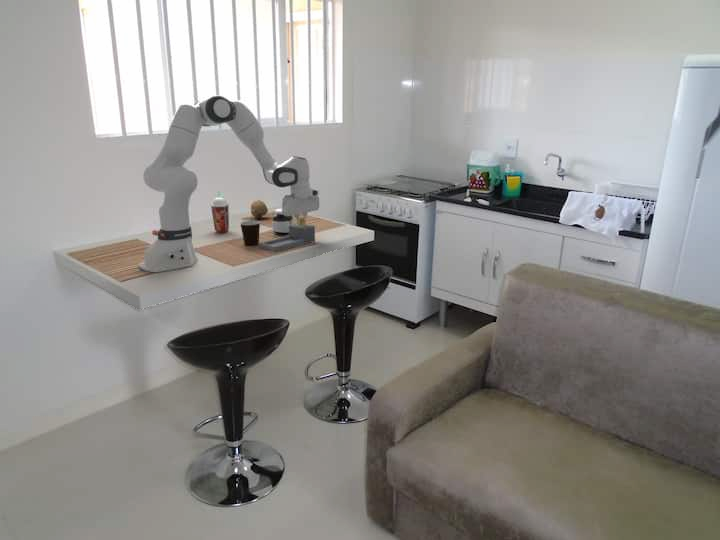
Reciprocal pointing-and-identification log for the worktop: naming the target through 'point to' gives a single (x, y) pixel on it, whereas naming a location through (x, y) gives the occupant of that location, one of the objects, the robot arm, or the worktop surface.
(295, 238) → the dispenser
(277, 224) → the spread jar
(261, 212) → the natural sponge
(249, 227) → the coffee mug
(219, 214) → the smoothie
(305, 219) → the ticket
